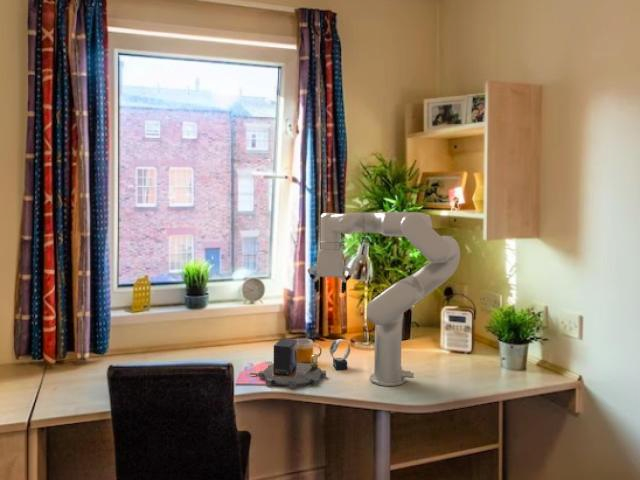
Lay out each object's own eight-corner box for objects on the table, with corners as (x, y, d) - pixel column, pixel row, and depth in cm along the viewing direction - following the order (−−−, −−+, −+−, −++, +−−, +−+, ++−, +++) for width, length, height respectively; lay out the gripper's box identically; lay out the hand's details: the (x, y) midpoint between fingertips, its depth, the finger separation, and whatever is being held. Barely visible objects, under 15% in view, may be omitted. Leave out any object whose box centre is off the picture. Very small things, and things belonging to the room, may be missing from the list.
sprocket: (293, 362, 219) (293, 345, 218) (339, 376, 203) (339, 357, 202) (246, 377, 201) (245, 358, 201) (292, 393, 185) (292, 372, 184)
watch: (328, 366, 216) (328, 338, 215) (348, 365, 217) (348, 337, 217) (331, 370, 210) (331, 342, 210) (351, 369, 212) (351, 341, 211)
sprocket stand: (309, 374, 206) (309, 371, 206) (303, 383, 196) (303, 380, 196) (254, 370, 210) (254, 367, 210) (246, 379, 200) (246, 376, 200)
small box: (290, 375, 196) (290, 346, 196) (272, 374, 198) (272, 345, 197) (297, 366, 207) (297, 338, 206) (280, 365, 208) (280, 337, 207)
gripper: (355, 246, 208) (354, 291, 209) (309, 245, 211) (309, 289, 212) (352, 247, 200) (352, 294, 202) (305, 246, 204) (305, 293, 205)
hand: (330, 292), depth 207 cm, fingers open, 9 cm apart
